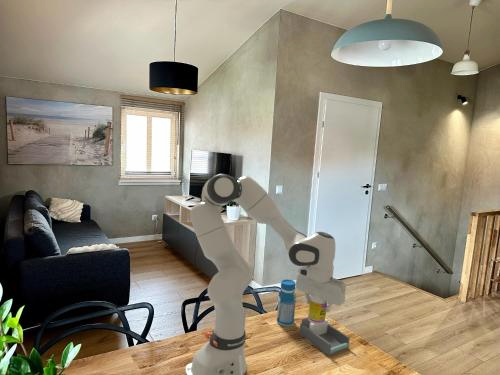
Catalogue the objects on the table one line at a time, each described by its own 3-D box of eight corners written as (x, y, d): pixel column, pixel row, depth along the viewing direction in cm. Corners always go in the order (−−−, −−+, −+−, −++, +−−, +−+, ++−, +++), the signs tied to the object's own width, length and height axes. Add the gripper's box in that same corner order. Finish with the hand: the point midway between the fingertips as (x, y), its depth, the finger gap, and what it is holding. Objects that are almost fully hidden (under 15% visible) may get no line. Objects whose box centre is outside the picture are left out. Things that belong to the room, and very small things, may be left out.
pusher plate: (311, 338, 146) (312, 324, 145) (308, 336, 147) (309, 323, 146) (326, 332, 151) (328, 320, 150) (324, 330, 152) (325, 318, 151)
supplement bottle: (319, 327, 129) (323, 295, 127) (304, 320, 133) (307, 289, 131) (327, 321, 134) (331, 290, 132) (313, 314, 138) (316, 285, 137)
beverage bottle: (283, 328, 154) (286, 286, 152) (273, 319, 162) (275, 279, 159) (297, 324, 159) (301, 284, 156) (287, 316, 166) (290, 277, 164)
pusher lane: (328, 356, 136) (330, 340, 135) (299, 334, 151) (300, 319, 150) (348, 348, 142) (350, 332, 141) (318, 327, 157) (319, 313, 156)
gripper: (349, 280, 127) (346, 315, 128) (303, 264, 140) (300, 296, 142) (342, 284, 122) (338, 320, 124) (295, 268, 135) (292, 300, 137)
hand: (317, 307), depth 133 cm, fingers closed on supplement bottle, 6 cm apart
